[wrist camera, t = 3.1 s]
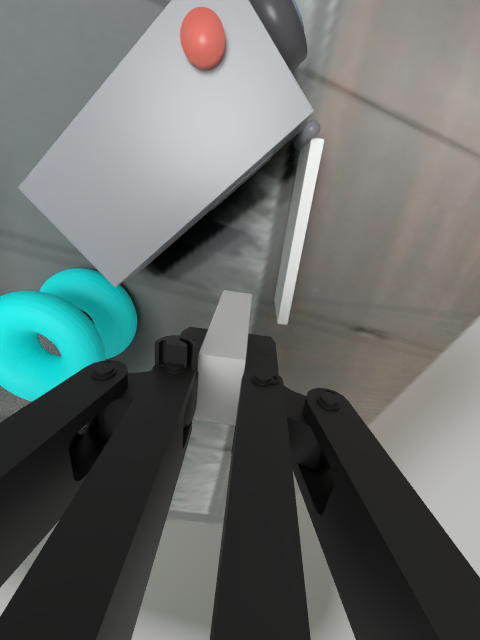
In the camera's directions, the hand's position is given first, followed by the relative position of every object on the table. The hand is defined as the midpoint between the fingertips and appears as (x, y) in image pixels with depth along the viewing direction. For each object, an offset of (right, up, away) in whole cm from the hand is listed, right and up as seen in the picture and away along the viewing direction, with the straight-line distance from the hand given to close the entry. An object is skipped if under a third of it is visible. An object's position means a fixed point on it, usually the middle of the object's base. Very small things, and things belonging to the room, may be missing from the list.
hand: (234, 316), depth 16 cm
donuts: (-15, +1, +16) cm, 22 cm away
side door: (+5, +8, +11) cm, 14 cm away
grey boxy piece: (-4, +14, +9) cm, 17 cm away
